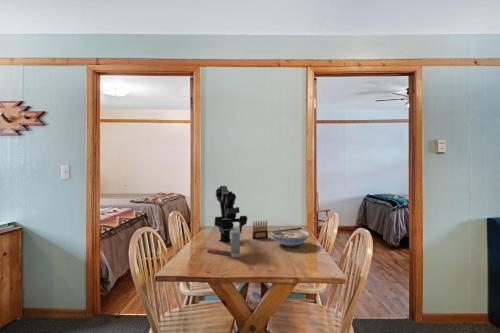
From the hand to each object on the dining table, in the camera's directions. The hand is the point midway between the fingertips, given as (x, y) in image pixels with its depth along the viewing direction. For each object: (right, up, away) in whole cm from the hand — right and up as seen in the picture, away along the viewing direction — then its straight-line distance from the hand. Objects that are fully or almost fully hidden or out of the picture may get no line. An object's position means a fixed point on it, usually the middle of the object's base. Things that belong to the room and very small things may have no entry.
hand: (232, 233), depth 150 cm
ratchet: (-5, -10, -5) cm, 12 cm away
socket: (+2, -8, -8) cm, 11 cm away
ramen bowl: (+34, -11, +14) cm, 38 cm away
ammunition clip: (+17, -11, +30) cm, 36 cm away
